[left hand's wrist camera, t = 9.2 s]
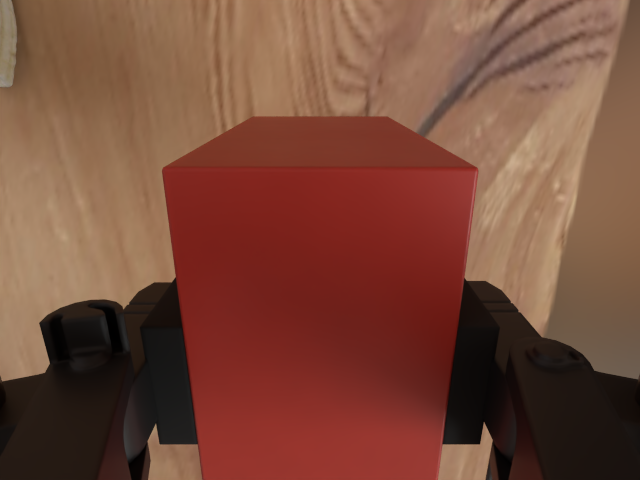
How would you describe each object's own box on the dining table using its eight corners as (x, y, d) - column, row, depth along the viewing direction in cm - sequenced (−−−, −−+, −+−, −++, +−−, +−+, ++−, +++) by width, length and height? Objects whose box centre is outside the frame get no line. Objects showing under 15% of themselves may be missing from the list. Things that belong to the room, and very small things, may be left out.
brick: (377, 323, 18) (429, 547, 10) (262, 323, 18) (210, 547, 10) (389, 116, 15) (481, 167, 7) (251, 116, 15) (159, 167, 7)
